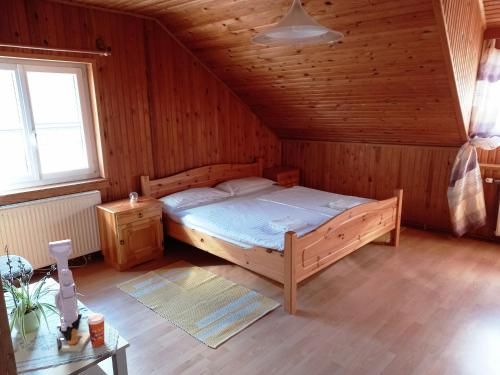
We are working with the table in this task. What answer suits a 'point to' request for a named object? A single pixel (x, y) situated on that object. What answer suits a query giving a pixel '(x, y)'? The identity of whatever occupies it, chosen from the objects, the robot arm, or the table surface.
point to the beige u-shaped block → (80, 345)
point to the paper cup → (96, 329)
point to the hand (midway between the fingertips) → (72, 335)
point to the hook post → (59, 343)
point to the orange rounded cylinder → (73, 338)
